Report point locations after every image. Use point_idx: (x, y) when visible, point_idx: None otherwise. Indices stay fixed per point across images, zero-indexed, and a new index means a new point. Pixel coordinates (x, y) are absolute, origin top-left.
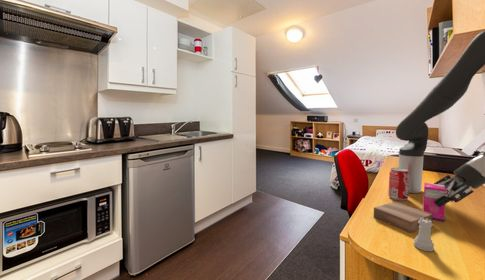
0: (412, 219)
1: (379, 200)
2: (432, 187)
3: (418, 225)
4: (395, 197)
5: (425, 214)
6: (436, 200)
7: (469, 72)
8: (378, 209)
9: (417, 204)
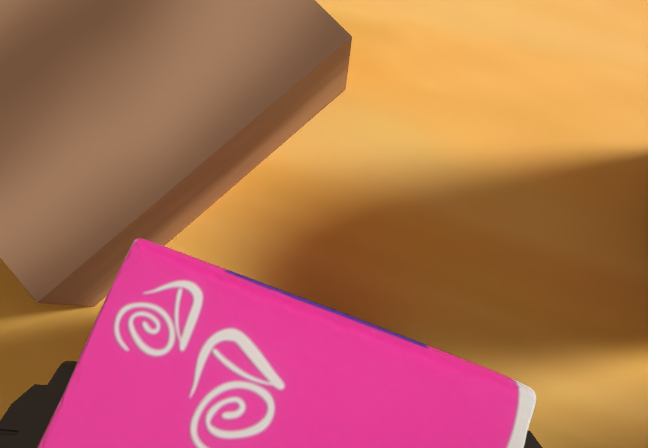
0: None
1: (593, 27)
2: (76, 400)
3: None
4: None
5: (12, 220)
6: (52, 394)
7: None
8: None
9: (617, 381)
